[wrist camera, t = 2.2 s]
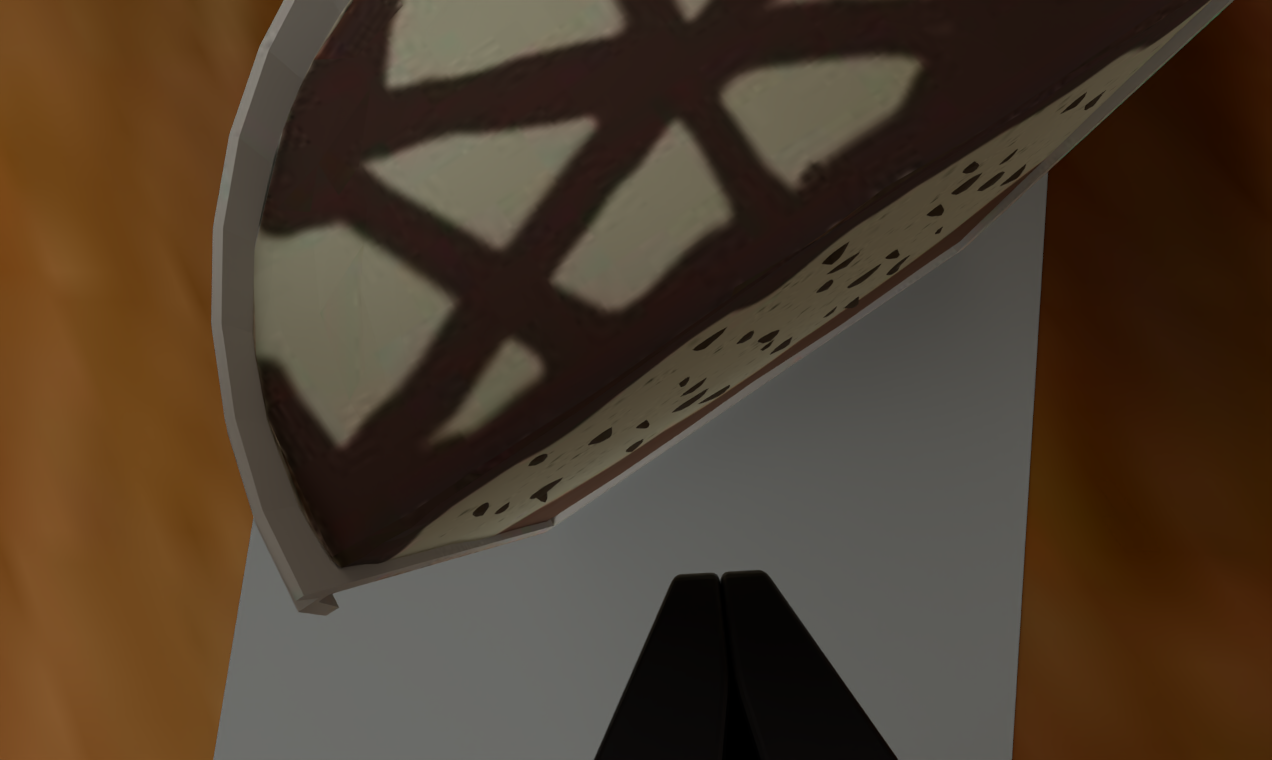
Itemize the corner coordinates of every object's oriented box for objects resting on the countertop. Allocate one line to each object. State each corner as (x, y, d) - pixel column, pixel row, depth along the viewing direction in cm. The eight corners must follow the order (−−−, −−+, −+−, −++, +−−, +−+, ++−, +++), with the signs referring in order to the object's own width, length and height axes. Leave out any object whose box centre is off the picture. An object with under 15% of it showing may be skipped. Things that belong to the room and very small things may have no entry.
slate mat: (998, 919, 17) (1001, 924, 17) (209, 811, 18) (204, 814, 18) (1049, 93, 20) (1053, 89, 19) (338, 31, 20) (335, 26, 20)
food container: (835, -44, 20) (986, -608, 10) (1028, 205, 19) (1402, -143, 9) (305, 305, 19) (-89, 75, 10) (478, 579, 19) (242, 637, 9)
